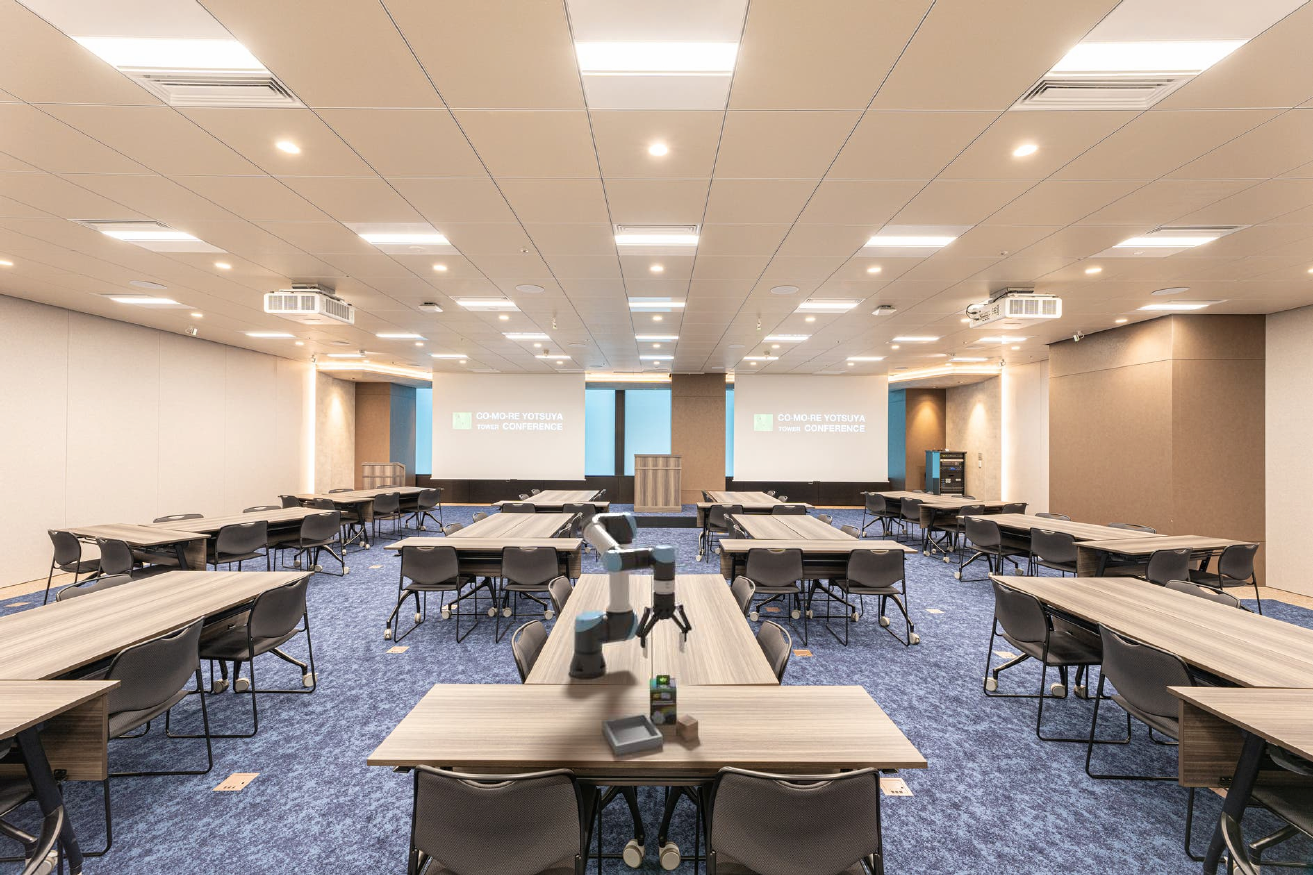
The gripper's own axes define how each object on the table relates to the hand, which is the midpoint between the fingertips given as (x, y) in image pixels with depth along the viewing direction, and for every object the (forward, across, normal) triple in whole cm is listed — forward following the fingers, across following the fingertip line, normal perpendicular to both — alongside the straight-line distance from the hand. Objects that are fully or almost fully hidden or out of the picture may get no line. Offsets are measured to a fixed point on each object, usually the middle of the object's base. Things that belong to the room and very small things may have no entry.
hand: (663, 654), depth 169 cm
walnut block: (+22, +3, -12) cm, 25 cm away
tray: (+21, -14, -8) cm, 27 cm away
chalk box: (+22, 0, 0) cm, 22 cm away
